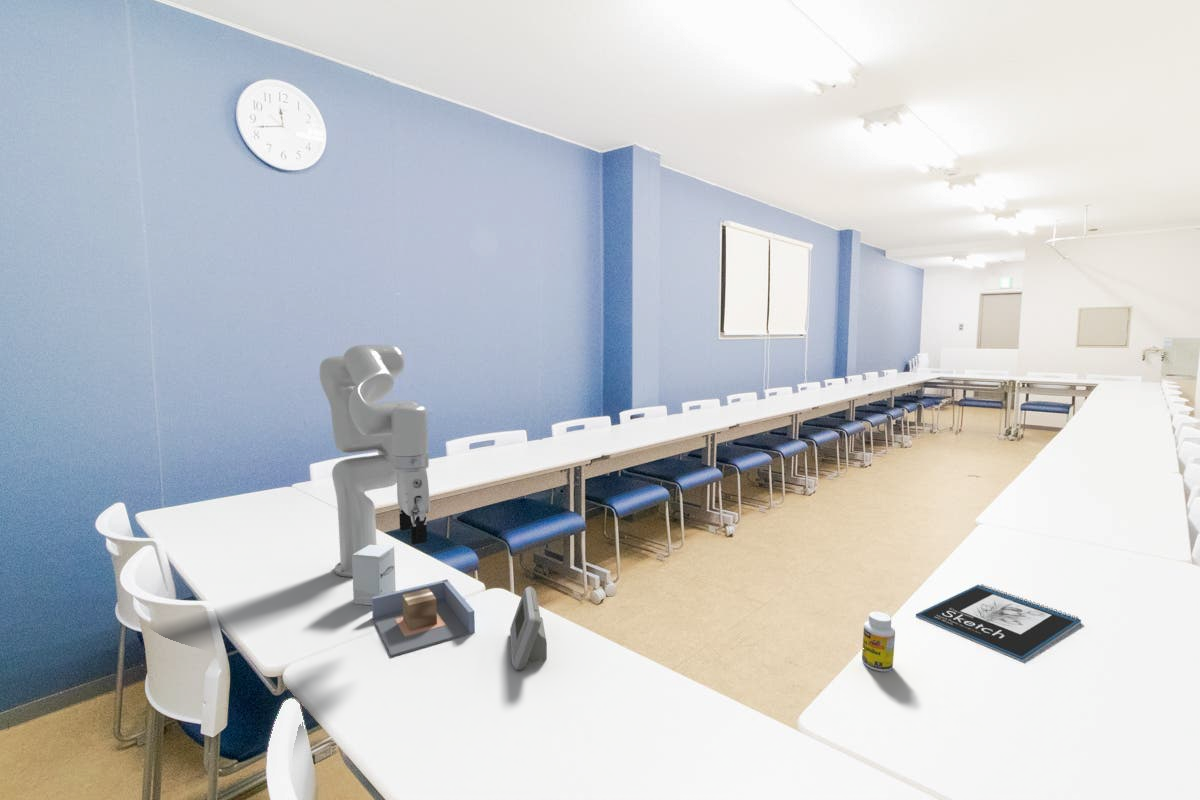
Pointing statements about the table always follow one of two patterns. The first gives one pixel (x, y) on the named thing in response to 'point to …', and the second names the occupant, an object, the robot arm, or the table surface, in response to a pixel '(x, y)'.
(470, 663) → the table surface
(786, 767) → the table surface
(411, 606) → the brown cardboard box
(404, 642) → the arena
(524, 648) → the digital clock
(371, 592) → the supplement box
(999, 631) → the sketchbook
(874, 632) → the supplement bottle
